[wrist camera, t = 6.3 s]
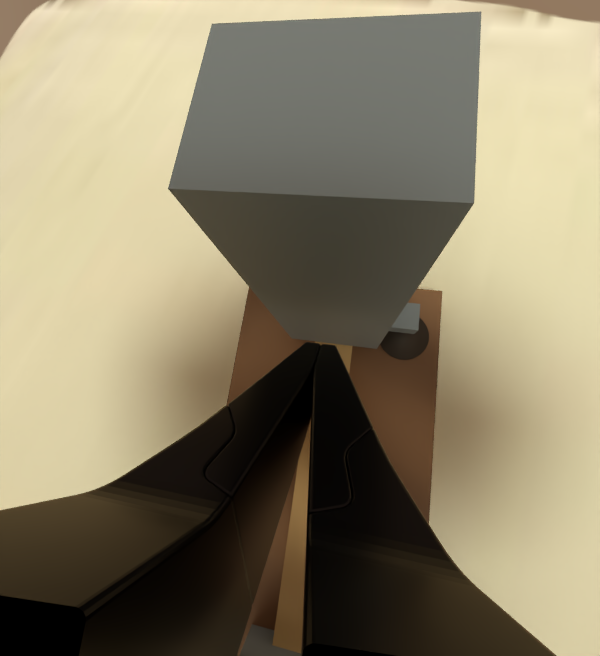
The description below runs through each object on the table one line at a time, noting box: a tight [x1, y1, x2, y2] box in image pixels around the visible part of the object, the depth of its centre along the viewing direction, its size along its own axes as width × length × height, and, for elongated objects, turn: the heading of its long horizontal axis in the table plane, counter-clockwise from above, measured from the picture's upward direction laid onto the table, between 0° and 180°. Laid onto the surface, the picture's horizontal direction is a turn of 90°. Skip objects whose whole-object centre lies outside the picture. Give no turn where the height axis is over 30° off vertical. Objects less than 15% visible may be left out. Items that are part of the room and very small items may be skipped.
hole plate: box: [227, 287, 442, 656], centre depth 13 cm, size 20×10×5 cm, turn 171°
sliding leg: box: [168, 12, 481, 349], centre depth 10 cm, size 3×6×12 cm, turn 81°
